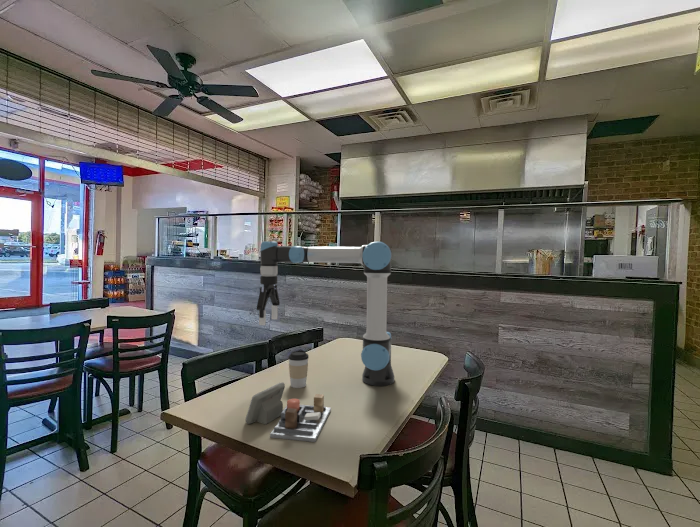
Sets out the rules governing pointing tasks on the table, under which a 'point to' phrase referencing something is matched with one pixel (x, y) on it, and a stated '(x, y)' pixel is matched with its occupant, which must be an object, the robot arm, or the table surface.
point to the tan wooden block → (319, 403)
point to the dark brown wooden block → (291, 418)
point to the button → (293, 404)
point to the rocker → (312, 416)
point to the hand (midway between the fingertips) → (268, 322)
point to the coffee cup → (298, 368)
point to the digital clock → (266, 405)
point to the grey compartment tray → (301, 425)
